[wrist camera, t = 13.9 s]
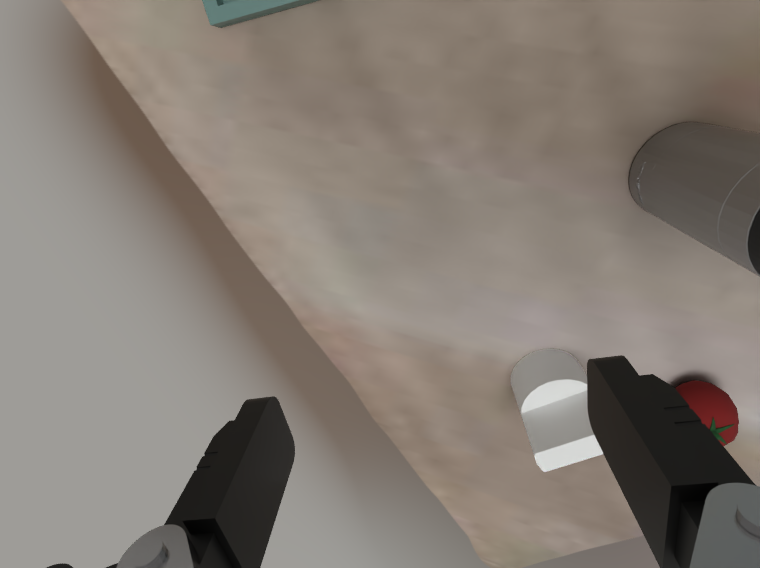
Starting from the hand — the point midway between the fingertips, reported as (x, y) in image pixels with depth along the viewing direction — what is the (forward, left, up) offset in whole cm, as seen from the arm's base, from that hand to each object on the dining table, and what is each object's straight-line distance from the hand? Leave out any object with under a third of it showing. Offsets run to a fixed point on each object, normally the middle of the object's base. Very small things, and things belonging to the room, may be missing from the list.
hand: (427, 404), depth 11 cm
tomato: (-29, +37, -37) cm, 60 cm away
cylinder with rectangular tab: (-12, +31, -37) cm, 50 cm away
